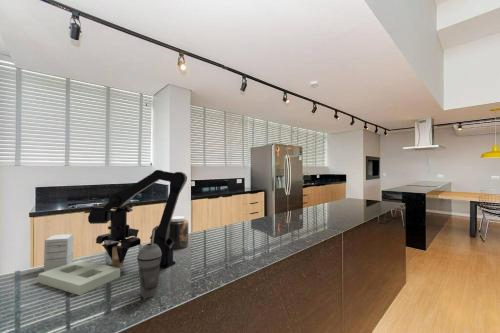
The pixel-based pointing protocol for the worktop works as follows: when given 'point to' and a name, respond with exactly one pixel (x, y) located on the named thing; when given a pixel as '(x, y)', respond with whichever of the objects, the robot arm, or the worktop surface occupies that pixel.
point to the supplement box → (58, 251)
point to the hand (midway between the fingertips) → (117, 261)
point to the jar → (179, 232)
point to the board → (79, 276)
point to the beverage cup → (149, 268)
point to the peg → (116, 258)
